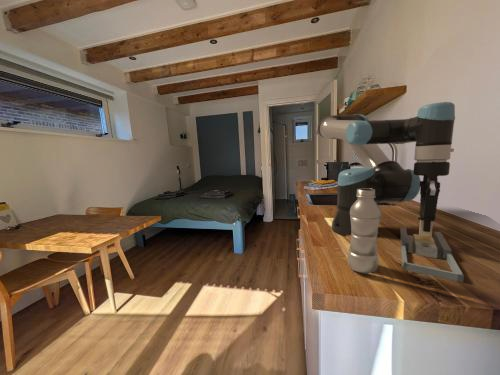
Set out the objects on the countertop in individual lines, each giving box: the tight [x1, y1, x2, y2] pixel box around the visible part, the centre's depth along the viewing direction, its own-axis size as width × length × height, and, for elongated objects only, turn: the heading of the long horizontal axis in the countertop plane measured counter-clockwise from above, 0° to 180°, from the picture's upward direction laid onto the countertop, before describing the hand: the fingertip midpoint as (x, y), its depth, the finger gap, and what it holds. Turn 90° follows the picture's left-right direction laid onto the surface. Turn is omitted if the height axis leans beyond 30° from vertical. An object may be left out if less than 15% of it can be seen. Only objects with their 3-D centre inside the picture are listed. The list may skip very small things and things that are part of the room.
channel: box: [399, 226, 453, 260], centre depth 59 cm, size 10×15×3 cm, turn 145°
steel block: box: [414, 240, 438, 259], centre depth 54 cm, size 4×4×3 cm
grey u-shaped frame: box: [400, 246, 465, 283], centre depth 49 cm, size 10×11×2 cm
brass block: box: [412, 233, 435, 247], centre depth 58 cm, size 4×4×3 cm
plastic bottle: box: [346, 188, 382, 275], centre depth 48 cm, size 6×7×20 cm
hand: (424, 240), depth 60 cm, fingers closed
